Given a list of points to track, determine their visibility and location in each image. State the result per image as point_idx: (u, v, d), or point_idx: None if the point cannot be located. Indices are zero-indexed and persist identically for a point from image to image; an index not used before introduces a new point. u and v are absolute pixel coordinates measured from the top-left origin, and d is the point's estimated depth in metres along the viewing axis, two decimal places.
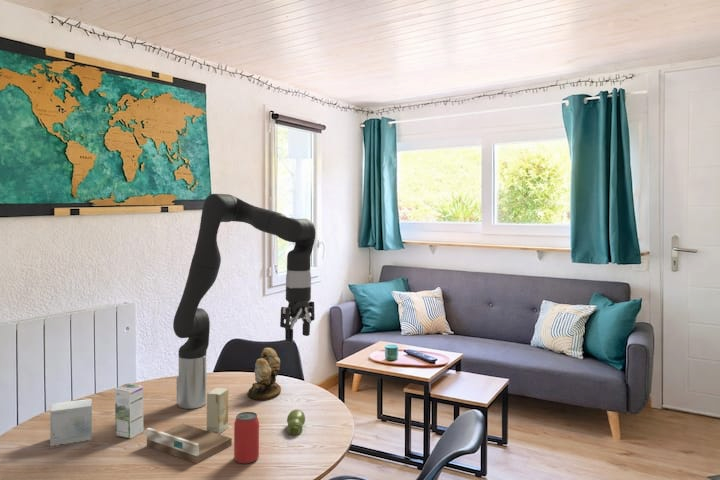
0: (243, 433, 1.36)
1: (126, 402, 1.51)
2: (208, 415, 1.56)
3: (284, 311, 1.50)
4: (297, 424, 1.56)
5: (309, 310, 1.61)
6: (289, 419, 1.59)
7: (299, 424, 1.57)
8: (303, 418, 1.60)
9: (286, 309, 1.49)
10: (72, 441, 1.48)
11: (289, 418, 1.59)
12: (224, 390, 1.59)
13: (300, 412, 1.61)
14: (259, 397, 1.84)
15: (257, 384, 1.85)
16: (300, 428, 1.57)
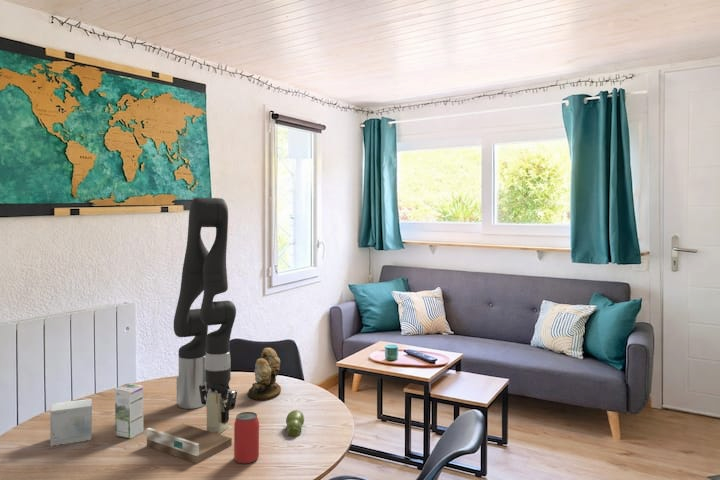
0: (243, 433, 1.37)
1: (126, 402, 1.51)
2: (208, 415, 1.56)
3: (234, 395, 1.55)
4: (296, 425, 1.55)
5: (206, 392, 1.61)
6: (288, 419, 1.58)
7: (298, 425, 1.56)
8: (302, 419, 1.59)
9: (236, 393, 1.55)
10: (72, 441, 1.48)
11: (288, 419, 1.58)
12: None
13: (299, 413, 1.61)
14: (259, 397, 1.84)
15: (257, 384, 1.85)
16: (299, 429, 1.56)
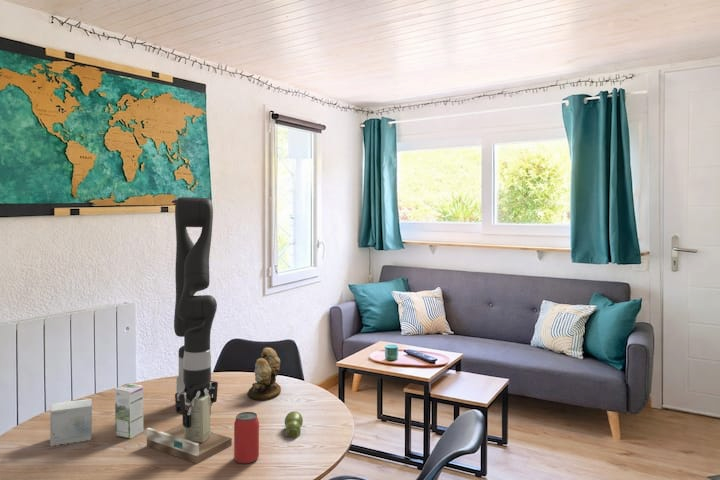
0: (243, 433, 1.37)
1: (127, 402, 1.51)
2: (204, 422, 1.45)
3: None
4: (295, 427, 1.54)
5: None
6: (287, 421, 1.57)
7: (298, 426, 1.55)
8: (301, 420, 1.59)
9: None
10: (72, 441, 1.48)
11: (287, 420, 1.57)
12: None
13: (298, 414, 1.60)
14: (259, 397, 1.84)
15: (257, 384, 1.85)
16: (299, 430, 1.55)
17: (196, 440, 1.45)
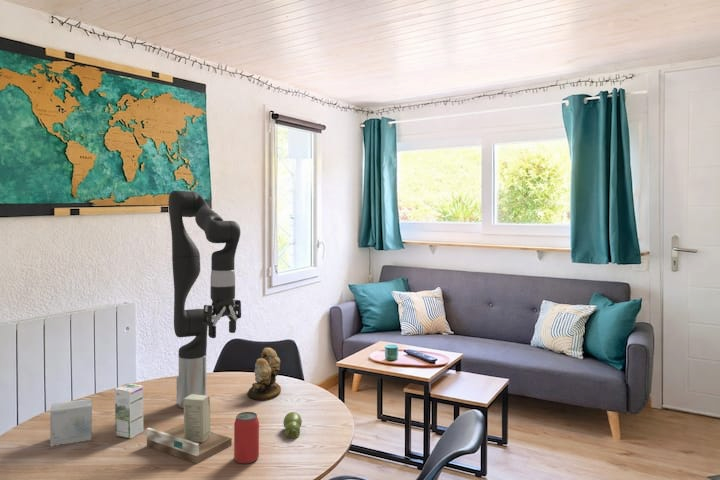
0: (243, 433, 1.36)
1: (126, 402, 1.51)
2: (204, 422, 1.45)
3: None
4: (295, 427, 1.54)
5: None
6: (286, 422, 1.57)
7: (297, 427, 1.55)
8: (300, 420, 1.58)
9: None
10: (72, 441, 1.48)
11: (286, 421, 1.57)
12: (196, 394, 1.49)
13: (296, 414, 1.59)
14: (259, 397, 1.84)
15: (257, 384, 1.85)
16: (298, 431, 1.55)
17: (196, 440, 1.45)
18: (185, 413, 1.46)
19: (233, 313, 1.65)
